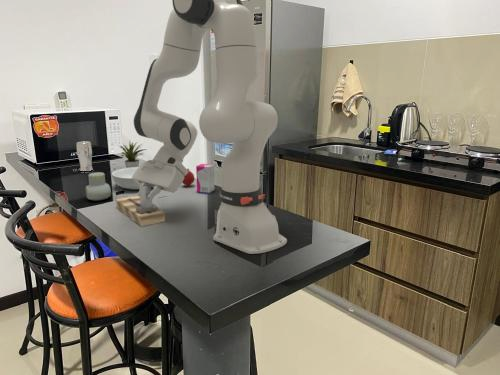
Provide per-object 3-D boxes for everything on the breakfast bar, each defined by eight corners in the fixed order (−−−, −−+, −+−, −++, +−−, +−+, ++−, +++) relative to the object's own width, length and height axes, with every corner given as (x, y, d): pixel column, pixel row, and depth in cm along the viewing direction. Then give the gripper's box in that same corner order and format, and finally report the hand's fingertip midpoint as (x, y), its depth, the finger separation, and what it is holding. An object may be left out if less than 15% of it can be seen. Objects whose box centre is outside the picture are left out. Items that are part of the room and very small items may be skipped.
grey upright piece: (157, 209, 125) (156, 186, 123) (140, 213, 122) (138, 189, 120) (153, 206, 129) (151, 183, 126) (135, 210, 125) (134, 186, 123)
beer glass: (80, 170, 197) (76, 141, 193) (94, 169, 199) (91, 140, 195) (78, 173, 191) (75, 143, 187) (93, 172, 193) (90, 142, 189)
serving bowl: (106, 193, 156) (104, 177, 154) (121, 181, 176) (120, 166, 174) (157, 193, 156) (156, 177, 155) (166, 181, 177) (165, 166, 175)
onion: (192, 188, 164) (191, 170, 162) (179, 187, 165) (178, 169, 163) (196, 185, 170) (195, 167, 167) (184, 184, 171) (183, 166, 169)
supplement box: (215, 190, 161) (214, 164, 158) (209, 194, 156) (208, 166, 153) (202, 189, 163) (201, 163, 160) (196, 192, 157) (195, 165, 154)
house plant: (130, 177, 182) (128, 144, 177) (110, 174, 188) (107, 141, 184) (152, 172, 194) (150, 140, 189) (132, 169, 200) (130, 138, 196)
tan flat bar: (165, 221, 125) (164, 212, 124) (141, 226, 120) (141, 217, 119) (137, 203, 143) (137, 195, 142) (116, 207, 139) (115, 199, 138)
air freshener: (112, 200, 146) (110, 175, 144) (89, 203, 142) (86, 178, 140) (107, 193, 155) (105, 170, 153) (85, 196, 152) (83, 172, 149)
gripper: (141, 154, 132) (119, 186, 128) (181, 161, 120) (158, 197, 115) (152, 164, 137) (131, 196, 132) (192, 172, 125) (170, 208, 120)
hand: (144, 197), depth 124 cm, fingers closed on grey upright piece, 3 cm apart
